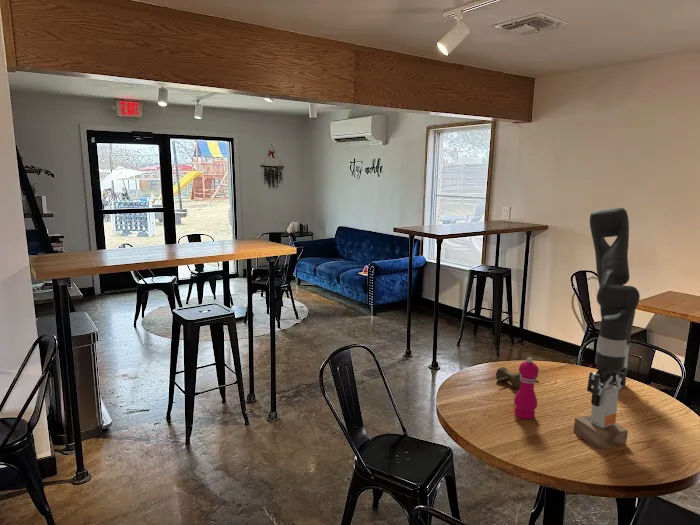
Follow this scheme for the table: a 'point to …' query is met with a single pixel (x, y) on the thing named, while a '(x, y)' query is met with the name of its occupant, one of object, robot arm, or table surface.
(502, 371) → the kendama
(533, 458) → the table surface
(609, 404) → the skincare box
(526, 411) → the pepper mill
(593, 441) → the walnut block
